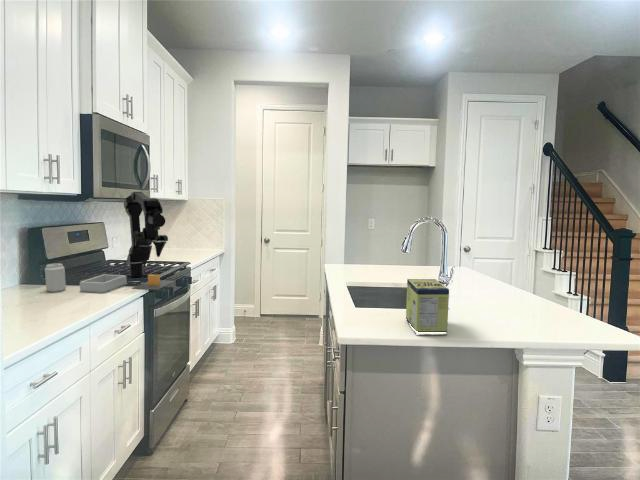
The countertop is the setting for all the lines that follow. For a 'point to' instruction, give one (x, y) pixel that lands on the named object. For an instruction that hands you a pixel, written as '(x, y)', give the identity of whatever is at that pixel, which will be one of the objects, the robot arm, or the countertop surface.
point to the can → (55, 277)
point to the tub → (103, 283)
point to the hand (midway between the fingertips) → (153, 258)
